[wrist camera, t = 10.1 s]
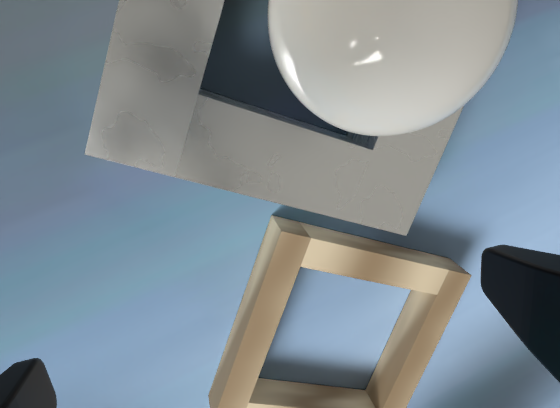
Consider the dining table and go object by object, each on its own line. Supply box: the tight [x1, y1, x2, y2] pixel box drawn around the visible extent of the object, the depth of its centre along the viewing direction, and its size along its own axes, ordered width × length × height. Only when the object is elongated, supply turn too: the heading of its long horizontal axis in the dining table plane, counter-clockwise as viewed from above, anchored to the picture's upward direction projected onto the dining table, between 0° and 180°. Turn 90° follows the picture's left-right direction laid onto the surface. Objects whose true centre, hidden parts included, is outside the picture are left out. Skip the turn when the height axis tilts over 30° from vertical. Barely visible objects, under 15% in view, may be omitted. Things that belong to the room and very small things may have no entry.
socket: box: [85, 0, 463, 236], centre depth 18 cm, size 14×14×3 cm
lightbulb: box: [268, 0, 518, 136], centre depth 14 cm, size 6×6×11 cm
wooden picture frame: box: [208, 215, 471, 408], centre depth 24 cm, size 11×11×2 cm
